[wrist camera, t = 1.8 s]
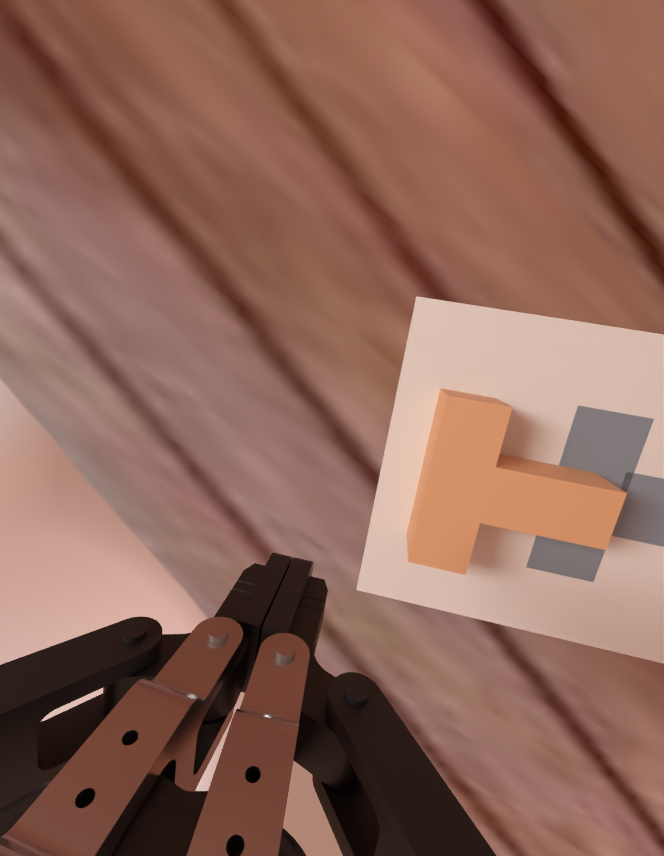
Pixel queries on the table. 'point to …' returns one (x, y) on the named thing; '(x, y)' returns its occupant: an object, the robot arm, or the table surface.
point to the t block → (497, 489)
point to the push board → (544, 442)
